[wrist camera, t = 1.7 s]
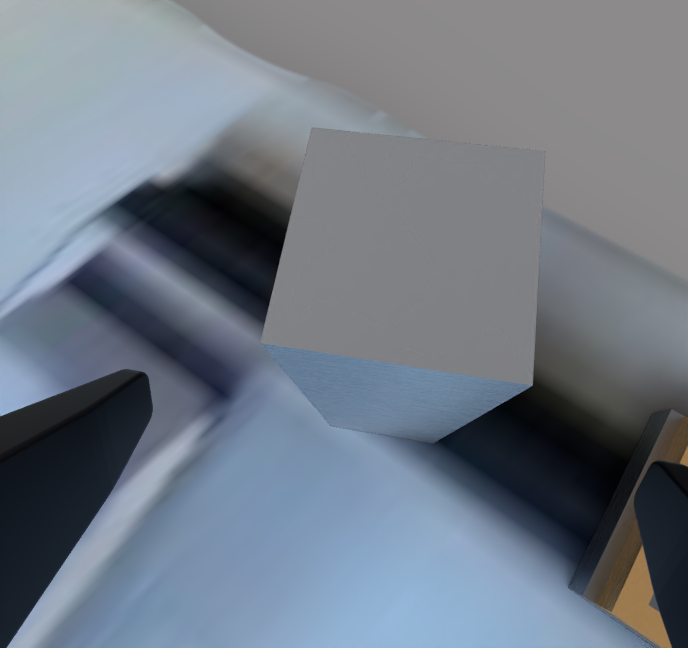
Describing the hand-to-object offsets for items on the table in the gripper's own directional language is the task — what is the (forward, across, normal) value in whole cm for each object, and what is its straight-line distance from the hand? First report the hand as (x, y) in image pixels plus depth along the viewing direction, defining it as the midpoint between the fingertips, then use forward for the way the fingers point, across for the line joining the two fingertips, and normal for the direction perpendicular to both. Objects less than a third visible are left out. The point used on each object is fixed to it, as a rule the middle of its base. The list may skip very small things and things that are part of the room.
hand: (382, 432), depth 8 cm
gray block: (+9, 0, +5) cm, 11 cm away
